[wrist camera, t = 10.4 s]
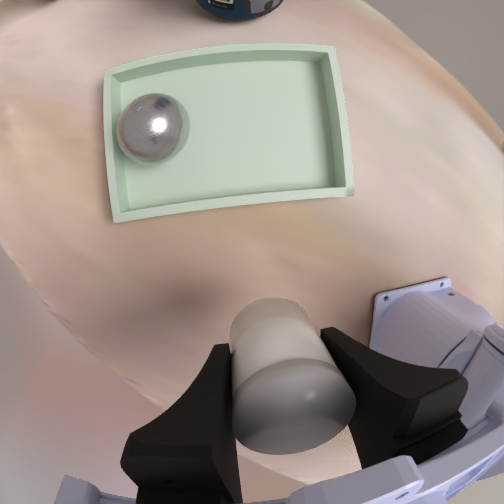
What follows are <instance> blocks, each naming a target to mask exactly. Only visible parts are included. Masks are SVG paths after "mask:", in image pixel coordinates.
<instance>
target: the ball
mask: <svg viewBox="0 0 504 504" xmlns="http://www.w3.org/2000/svg"><path fill="white" fill-rule="evenodd" d="M189 133H190V119H189V115H188V113H187V111H186V109H185V107H184V106H183V105H182V104H181V103H180V102H179V101H178V100H177V99H176V98H174V97H172V96H170V95H167V94H163V93H150V94H146V95H143V96H140V97H138V98H136V99H135V100H133V101H132V102H131V103H130V104H129V105H128V106H127V107H126V108H125V109H124V110H123V112H122V114H121V116H120V118H119V121H118V124H117V140H118V143H119V146H120V148H121V150H122V151H123V152H124V154H125V155H126V156H127V157H128V158H130V159H131V160H133V161H135V162H137V163H140V164H144V165H157V164H161V163H164V162H167V161H169V160H170V159H172V158H174V157H175V156H176V155H177V154H178V153H179V152H180V151H181V150H182V149H183V147H184V146H185V144H186V142H187V140H188V137H189Z"/></svg>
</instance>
